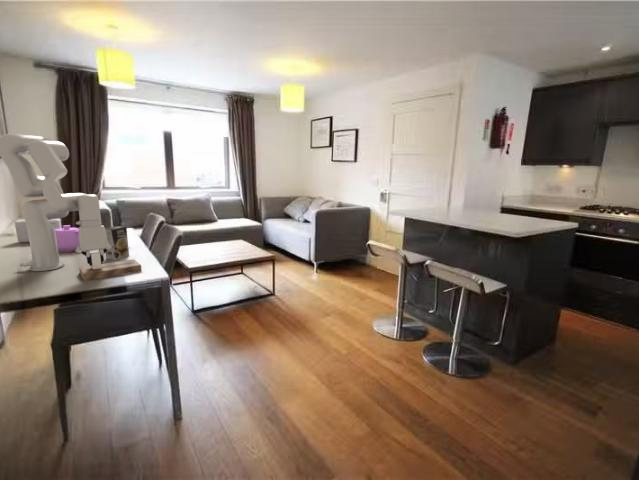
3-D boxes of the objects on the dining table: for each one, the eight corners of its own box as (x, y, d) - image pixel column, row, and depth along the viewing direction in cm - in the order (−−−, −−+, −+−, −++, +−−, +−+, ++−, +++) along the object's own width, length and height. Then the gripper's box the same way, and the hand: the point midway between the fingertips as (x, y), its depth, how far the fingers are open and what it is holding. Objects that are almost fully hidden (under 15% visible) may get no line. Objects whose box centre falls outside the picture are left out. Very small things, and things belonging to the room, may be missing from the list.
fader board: (84, 280, 139) (83, 273, 138) (79, 273, 147) (79, 267, 147) (141, 271, 154) (140, 264, 153) (134, 265, 162) (133, 258, 161)
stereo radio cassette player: (17, 243, 195) (11, 210, 191) (22, 240, 203) (17, 208, 198) (60, 241, 204) (56, 209, 200) (64, 238, 211) (60, 207, 207)
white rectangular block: (93, 269, 143) (91, 254, 142) (91, 267, 147) (89, 251, 145) (101, 268, 146) (99, 252, 144) (99, 265, 149) (97, 250, 147)
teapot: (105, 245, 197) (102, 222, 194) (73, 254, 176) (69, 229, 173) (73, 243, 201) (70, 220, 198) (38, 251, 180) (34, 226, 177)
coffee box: (116, 260, 169) (113, 229, 165) (105, 259, 170) (102, 228, 166) (129, 255, 177) (127, 226, 174) (119, 254, 179) (116, 225, 175)
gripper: (68, 226, 134) (74, 269, 138) (114, 222, 145) (119, 263, 149) (66, 223, 139) (71, 265, 143) (111, 220, 150) (115, 259, 154)
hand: (96, 263), depth 146 cm, fingers closed on white rectangular block, 3 cm apart
